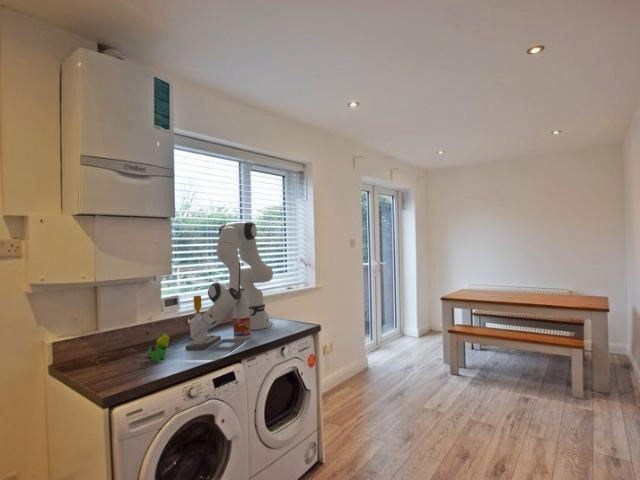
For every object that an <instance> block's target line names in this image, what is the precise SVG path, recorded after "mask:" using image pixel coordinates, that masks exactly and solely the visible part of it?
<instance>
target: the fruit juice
mask: <svg viewBox="0 0 640 480" xmlns="http://www.w3.org/2000/svg"><path fill="white" fill-rule="evenodd" d="M240 291H241V299H240V301H239V302H238V303H237V304H236V305H235V306H234V308H233V313H232V323H233V339H243V340H250V339H251V337H252V330H251V321H250V311H249V305H250V304H249V301H248V299H247V297H246V295H245V288H242V287H240Z"/></svg>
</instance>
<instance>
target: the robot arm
mask: <svg viewBox="0 0 640 480" xmlns="http://www.w3.org/2000/svg"><path fill="white" fill-rule="evenodd" d="M257 231H258V230H257V226H256V224H255V223H254V222H252V221H236V222H234V221H233V222H227V223H222V224H221V225H220V226H219V230H218V235H219V237H218V239H217V241H218V242H217V245H216V255H217V258H218V260H219V261H220V262H222V264H223V265H224V266H225V267H226V268H227V269H228V272H229V277H228V279H229V282H228V283H229V285H227V284H224V283H222V282H218V281H215V282H213V283H212V284H211V285H210V286H209V287H208V290H207V295H208V298H209V299H210V301H211V302H212V303H213V304H212V305H211V306H210V308H208V310H206V312H203V314H201V317H202V318H201V319H200V320H199V321H198V322H197V323H196V325H195V326H194V327H193V332H194V334H193V335H192V336H193V338H196V337H197V336H198V334H200V333H202V332H204V331H207V332H208V331H209V330H210V329H212V328H214V327H216V326H217V325H219V324H221V322H223V321H224V319H225V318H226V317H227V315H228V313H230V312H231V311H232V310H234V306H235V305H236V304H237V303H238V302H239V301H240V299H241V291H240V288H245V295H246V297H247V299H248V301H249V304H250V305H249V311H250V321H251V331H255V330H262V329H269V328H271V326H272V325H273V321H272V320H270V317H269V316H270V315H269V314H268V312H267V311H266V310H265V309H266V308H265V307H266V303H264V293H263V292H262V290H261V289H259V288H257V287H256V286H255V284H262V283H268V282H271V280H272V279H273V276H274V271H273V269H272V267H271V266H269V265H267V264H266V263H265V262H264V261H263V260H262V258H261V256H260V254H259V250H258V246H257V242H256V236H257V233H258V232H257ZM238 252H239V254H238ZM239 258H240V259H241V261H242V262H244V263H245V264H247V265H242V266H241V262H240V259H239Z"/></svg>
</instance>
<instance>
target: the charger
mask: <svg viewBox="0 0 640 480" xmlns="http://www.w3.org/2000/svg"><path fill="white" fill-rule="evenodd" d="M193 334H194V332H193ZM193 342H194V344H203V343H205V342H206V331H204V332H202V333H200V334H198V336H197V337H196V338H194V339H193Z"/></svg>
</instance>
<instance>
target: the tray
mask: <svg viewBox="0 0 640 480" xmlns="http://www.w3.org/2000/svg"><path fill="white" fill-rule="evenodd" d="M223 343H233V344H231V345H230V346H220V345H221V344H223ZM243 344H244V339H234V338H221V340H219V341H218V342H216V343H214V344H212V345H211V346H209V347H207V348H208V351H229V353H232V352H233V351H234V350H237V349H238V348H239V347H240V346H242V345H243Z"/></svg>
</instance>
